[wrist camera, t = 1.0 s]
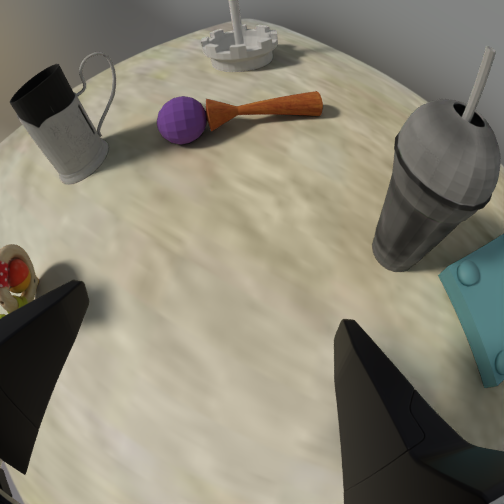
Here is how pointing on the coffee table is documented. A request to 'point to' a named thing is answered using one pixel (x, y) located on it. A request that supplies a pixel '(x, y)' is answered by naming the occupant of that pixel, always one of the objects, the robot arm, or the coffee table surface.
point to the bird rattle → (16, 278)
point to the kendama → (226, 113)
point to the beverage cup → (437, 176)
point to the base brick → (481, 305)
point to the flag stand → (240, 45)
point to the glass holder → (62, 122)
